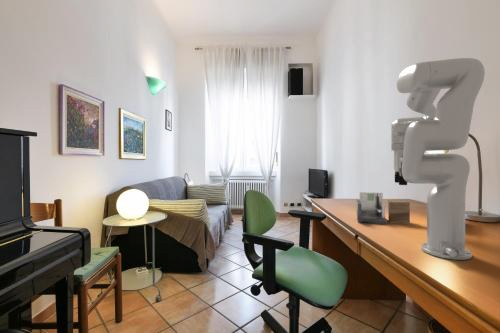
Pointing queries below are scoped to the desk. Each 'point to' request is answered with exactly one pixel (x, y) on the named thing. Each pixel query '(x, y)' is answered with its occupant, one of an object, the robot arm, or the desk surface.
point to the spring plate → (381, 210)
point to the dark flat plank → (377, 205)
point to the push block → (399, 211)
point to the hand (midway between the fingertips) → (400, 183)
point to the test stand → (369, 208)
